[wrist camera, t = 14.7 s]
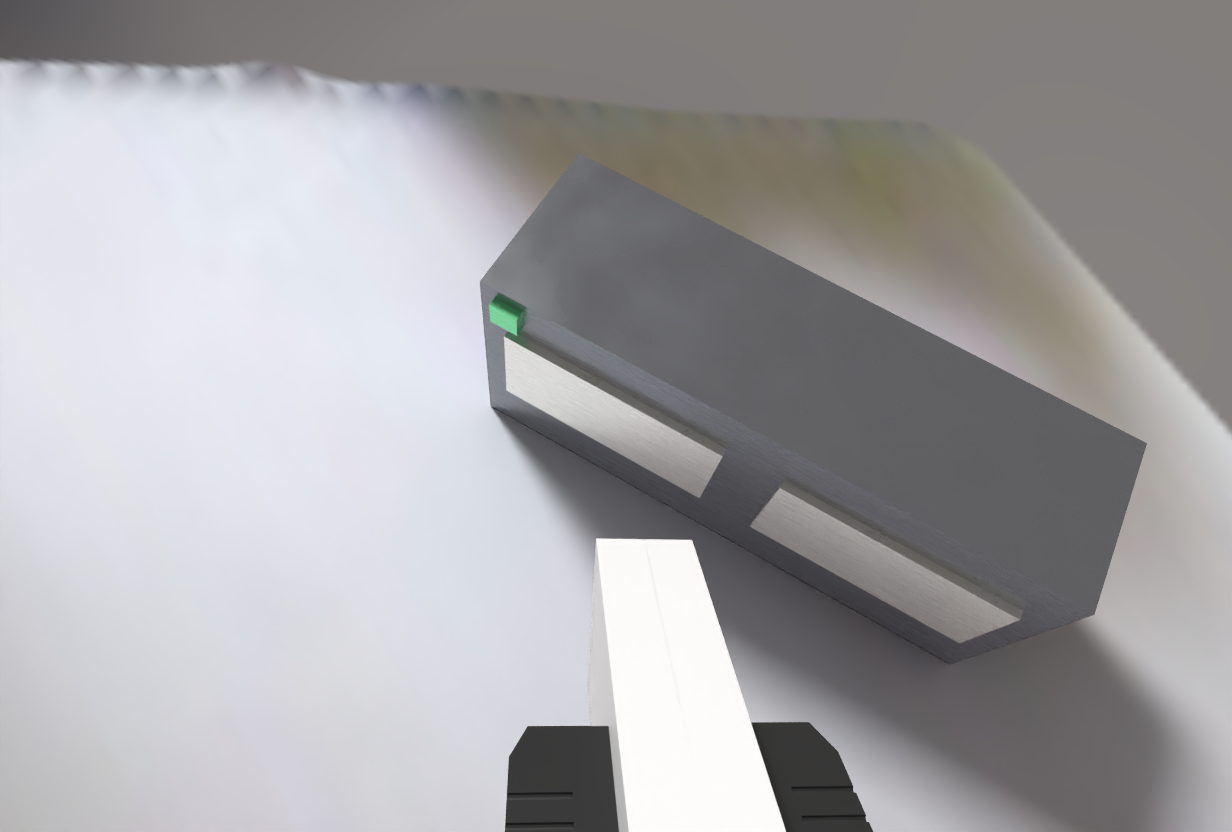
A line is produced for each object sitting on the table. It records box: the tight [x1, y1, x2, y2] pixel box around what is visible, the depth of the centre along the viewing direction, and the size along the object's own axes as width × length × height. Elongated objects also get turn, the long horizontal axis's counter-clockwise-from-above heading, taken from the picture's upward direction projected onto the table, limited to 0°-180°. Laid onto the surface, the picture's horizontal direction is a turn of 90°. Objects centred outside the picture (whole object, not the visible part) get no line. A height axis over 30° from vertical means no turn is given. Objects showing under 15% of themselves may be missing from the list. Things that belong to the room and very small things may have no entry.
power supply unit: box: [480, 153, 1147, 664], centre depth 31 cm, size 6×20×9 cm, turn 61°
